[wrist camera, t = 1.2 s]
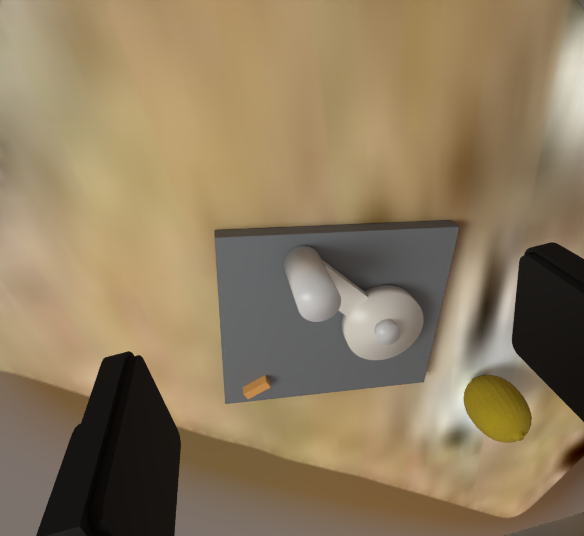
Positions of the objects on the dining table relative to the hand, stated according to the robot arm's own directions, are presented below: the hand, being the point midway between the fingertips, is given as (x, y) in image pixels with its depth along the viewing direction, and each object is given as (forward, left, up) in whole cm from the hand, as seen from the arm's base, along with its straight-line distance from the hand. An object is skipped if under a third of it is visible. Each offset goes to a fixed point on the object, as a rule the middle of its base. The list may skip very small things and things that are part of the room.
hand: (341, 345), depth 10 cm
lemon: (-24, +25, -23) cm, 42 cm away
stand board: (-7, +15, -23) cm, 28 cm away
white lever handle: (-8, +12, -21) cm, 26 cm away
